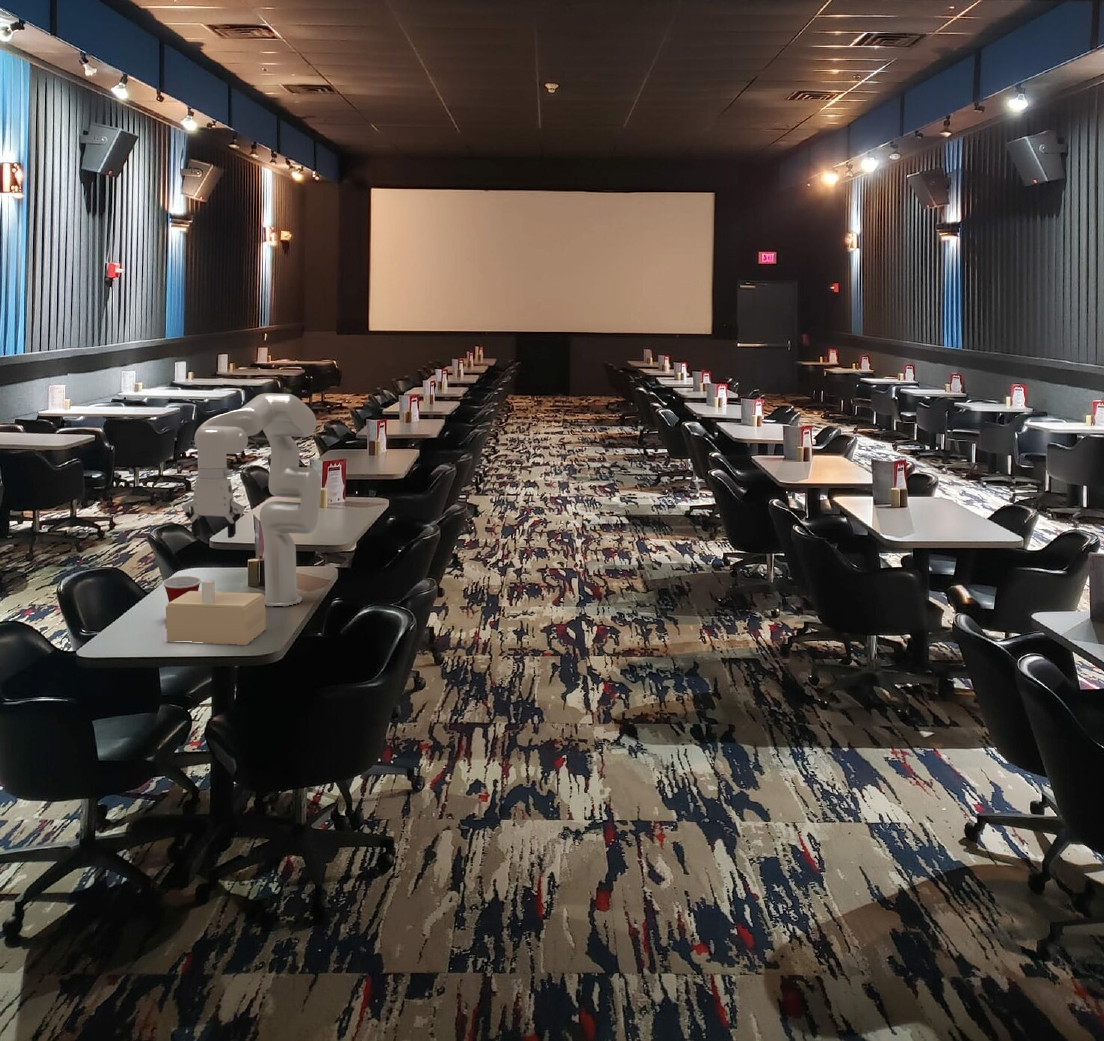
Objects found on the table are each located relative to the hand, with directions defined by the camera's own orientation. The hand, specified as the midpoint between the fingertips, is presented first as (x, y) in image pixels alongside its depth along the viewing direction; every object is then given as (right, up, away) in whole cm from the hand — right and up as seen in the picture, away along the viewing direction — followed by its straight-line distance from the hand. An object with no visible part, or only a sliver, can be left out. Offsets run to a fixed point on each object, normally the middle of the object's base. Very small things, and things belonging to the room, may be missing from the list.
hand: (214, 536), depth 321 cm
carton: (0, -28, +4) cm, 28 cm away
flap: (0, -18, +3) cm, 18 cm away
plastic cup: (-15, -25, +21) cm, 36 cm away
